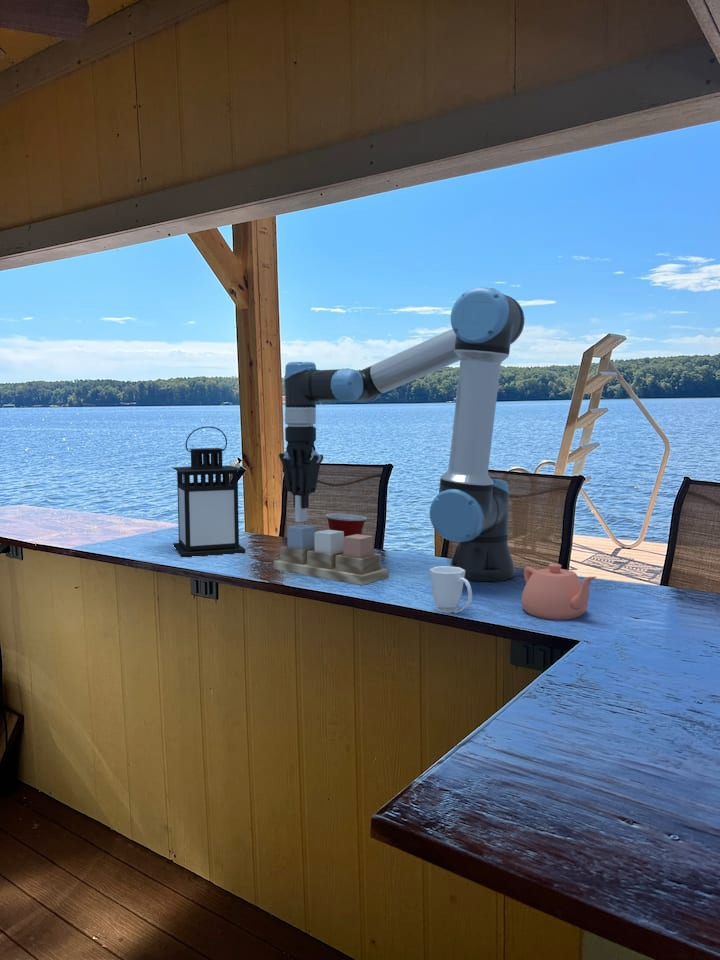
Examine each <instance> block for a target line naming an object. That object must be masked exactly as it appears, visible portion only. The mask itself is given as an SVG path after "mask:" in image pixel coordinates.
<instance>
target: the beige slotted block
mask: <svg viewBox="0 0 720 960" xmlns="http://www.w3.org/2000/svg"><path fill="white" fill-rule="evenodd" d="M373 554H374V555H373V556H369V557H365V558H361V559H360V558H353V557H347V556H343V551H342V552H337V553H333V554H327V553H321V552H315V547H313V548H308V549H304V550H301V549H294V548H288V545H285V546H280V547H279V555H280V557H279V559H277V560H273V564H272V565H273V570H276V571H282V572H287V573H292V574H299V575H303V576H310V577H314V578H321V579H325V580H331V581H336V582H343V583H348V584H352V585H353V584H354V585H359V586H364V585H367V584H371V583H373V582H377V581H381V580H384V579H387V578H389V568H384V567H382V554H379V553H374V552H373Z"/></svg>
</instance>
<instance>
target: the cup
mask: <svg viewBox="0 0 720 960" xmlns="http://www.w3.org/2000/svg"><path fill="white" fill-rule="evenodd" d="M428 571H429V578H430V583H431V592H432V596H433V600H434V604H435V605H436V606H437V607H435V611H437V612H438V611H439V612H438V613H442V612H445V613H444V614H450V613H449V612H454V613H453V614H459V613H461V612H464V611H465V610H466V609H468V608H469V607H470V606H471V604H472V601H473V591H472V586H471V584H470V581H469V580H466V579H465V578H464V576H465V570H464V569H462V568H460V567H452V566H450V565H442V566H435V567H431V568H429V570H428ZM464 585H465V586H466V588H467V589H466V590H467V596H468V597H467V602H466V603H465V605H464V606H463V607H462V608H460V609H459V608H458V606H459V605H460V601H461V599H462V594H463V587H464ZM457 610H458V611H457ZM458 612H459V613H458Z"/></svg>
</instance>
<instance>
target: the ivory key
mask: <svg viewBox="0 0 720 960" xmlns="http://www.w3.org/2000/svg"><path fill="white" fill-rule="evenodd" d="M343 537H344V531H336V530H330V529H324V530H319V531H316V532H314V538H315V552H321V553H327V554H333V553H337V552H342V551H343Z"/></svg>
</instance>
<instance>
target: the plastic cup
mask: <svg viewBox="0 0 720 960" xmlns="http://www.w3.org/2000/svg"><path fill="white" fill-rule="evenodd" d="M325 516H326V518H327V524H328V528H329V530H336V531H344V537H345V536H350V535H355V534H360V535H363V534H362V533H363V528H364V525H365V522H366V521H367V519H368V517H367V516H362V515H360V514H359V515H357V514H347V513H328V514H327V513H326V515H325Z"/></svg>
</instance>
